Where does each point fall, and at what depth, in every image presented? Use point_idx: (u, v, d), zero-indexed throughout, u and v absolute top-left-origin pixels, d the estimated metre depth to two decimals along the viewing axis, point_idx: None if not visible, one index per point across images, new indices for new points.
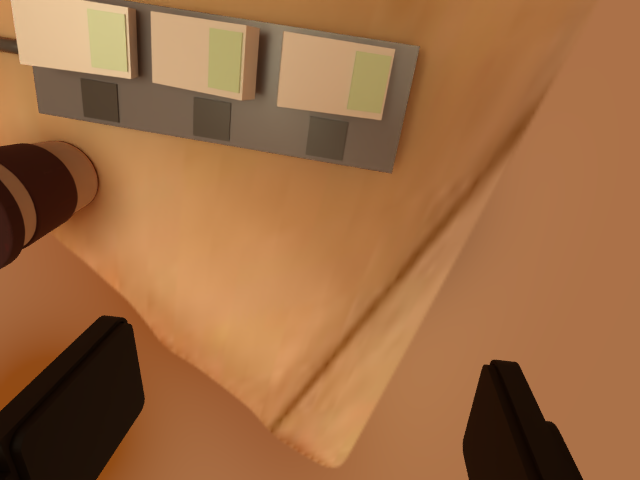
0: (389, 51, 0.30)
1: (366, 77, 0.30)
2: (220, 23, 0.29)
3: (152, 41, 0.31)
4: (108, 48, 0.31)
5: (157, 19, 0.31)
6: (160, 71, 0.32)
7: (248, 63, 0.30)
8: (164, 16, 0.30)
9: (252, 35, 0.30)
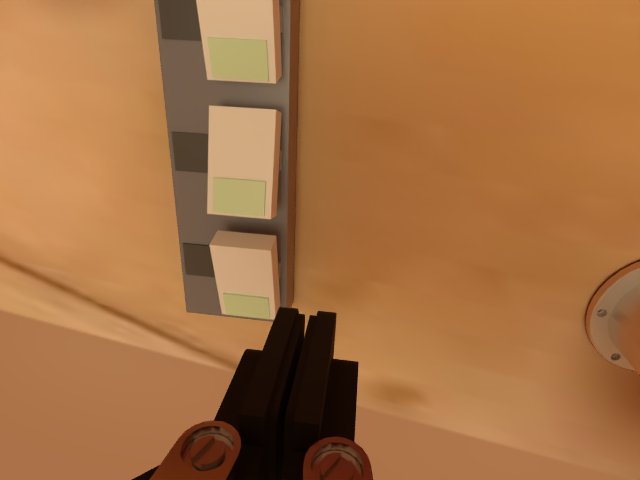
0: (273, 316, 0.37)
1: (250, 305, 0.36)
2: (270, 192, 0.31)
3: (248, 109, 0.30)
4: (232, 60, 0.28)
5: (269, 118, 0.30)
6: (221, 117, 0.30)
7: None
8: (272, 127, 0.30)
9: None
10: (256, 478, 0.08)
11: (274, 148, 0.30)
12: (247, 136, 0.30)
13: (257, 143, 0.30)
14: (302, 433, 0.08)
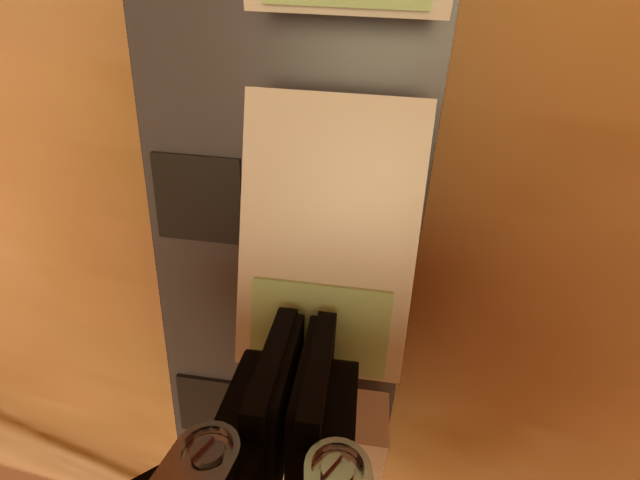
0: None
1: None
2: (405, 319, 0.12)
3: (356, 98, 0.11)
4: None
5: (415, 124, 0.11)
6: (277, 119, 0.11)
7: None
8: (422, 148, 0.11)
9: None
10: (255, 478, 0.08)
11: None
12: (349, 172, 0.11)
13: (376, 192, 0.11)
14: (303, 433, 0.08)
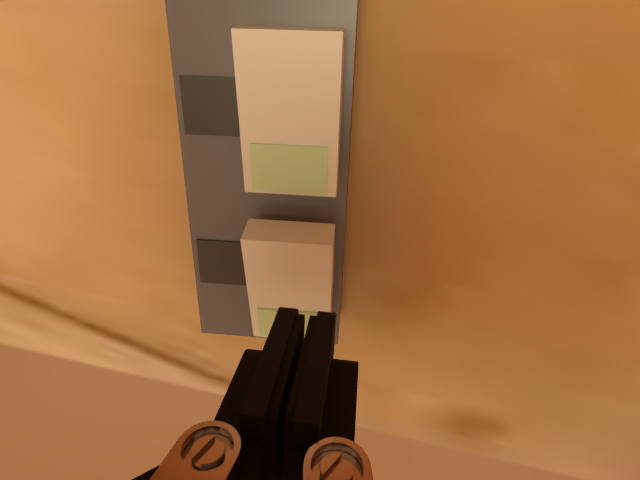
0: None
1: None
2: (335, 161, 0.21)
3: (296, 33, 0.18)
4: None
5: (331, 47, 0.18)
6: (252, 48, 0.19)
7: None
8: (336, 61, 0.19)
9: None
10: (256, 478, 0.08)
11: (340, 95, 0.20)
12: (297, 78, 0.19)
13: (313, 89, 0.19)
14: (302, 433, 0.08)
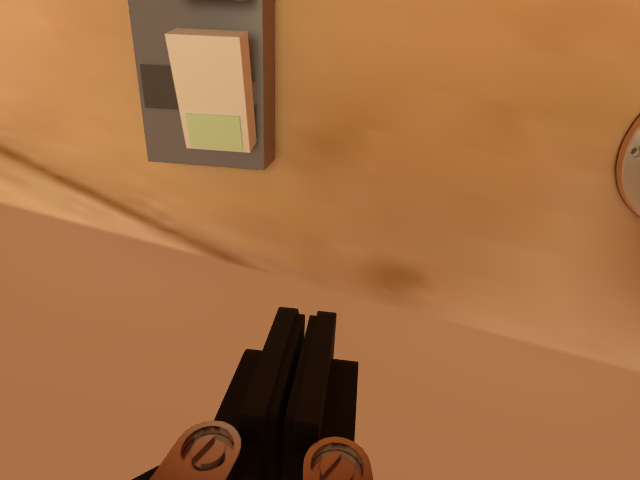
0: (246, 147, 0.31)
1: (218, 129, 0.30)
2: None
3: None
4: None
5: None
6: None
7: None
8: None
9: None
10: (256, 478, 0.08)
11: None
12: None
13: None
14: (302, 433, 0.08)
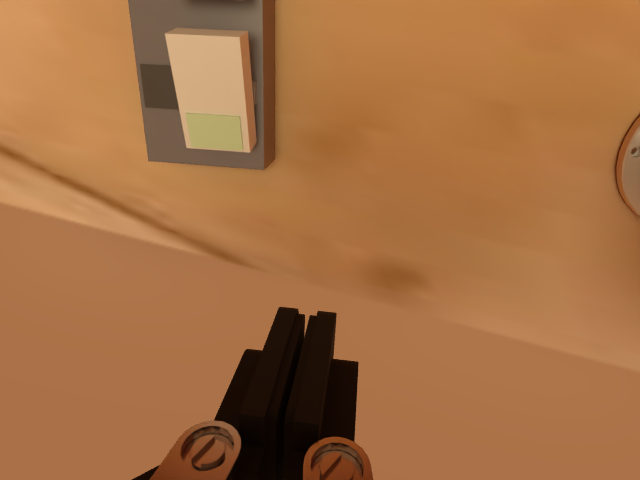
0: (246, 147, 0.31)
1: (218, 129, 0.30)
2: None
3: None
4: None
5: None
6: None
7: None
8: None
9: None
10: (256, 478, 0.08)
11: None
12: None
13: None
14: (302, 433, 0.08)
